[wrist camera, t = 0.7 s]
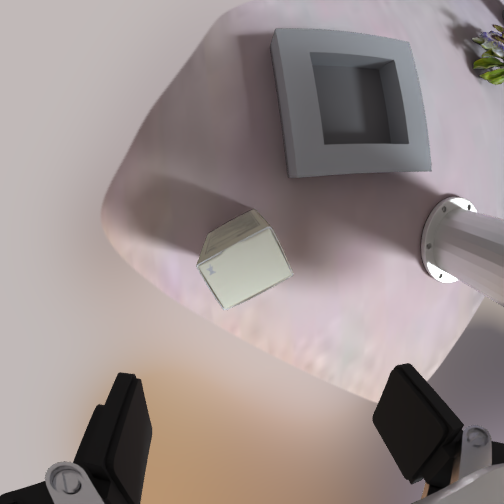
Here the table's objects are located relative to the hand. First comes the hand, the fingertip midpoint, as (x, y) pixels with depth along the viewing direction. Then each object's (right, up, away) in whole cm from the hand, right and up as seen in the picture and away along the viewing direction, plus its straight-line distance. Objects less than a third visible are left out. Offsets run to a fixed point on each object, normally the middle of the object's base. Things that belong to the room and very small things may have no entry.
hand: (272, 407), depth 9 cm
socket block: (+10, +22, +20) cm, 32 cm away
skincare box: (-2, +7, +24) cm, 25 cm away
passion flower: (+39, +38, +18) cm, 58 cm away
